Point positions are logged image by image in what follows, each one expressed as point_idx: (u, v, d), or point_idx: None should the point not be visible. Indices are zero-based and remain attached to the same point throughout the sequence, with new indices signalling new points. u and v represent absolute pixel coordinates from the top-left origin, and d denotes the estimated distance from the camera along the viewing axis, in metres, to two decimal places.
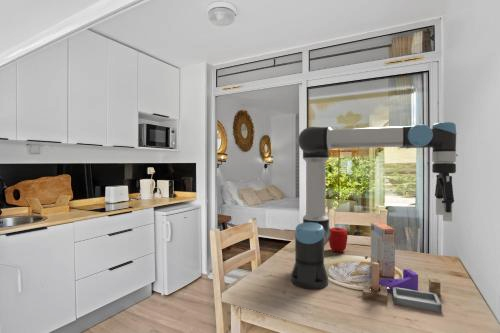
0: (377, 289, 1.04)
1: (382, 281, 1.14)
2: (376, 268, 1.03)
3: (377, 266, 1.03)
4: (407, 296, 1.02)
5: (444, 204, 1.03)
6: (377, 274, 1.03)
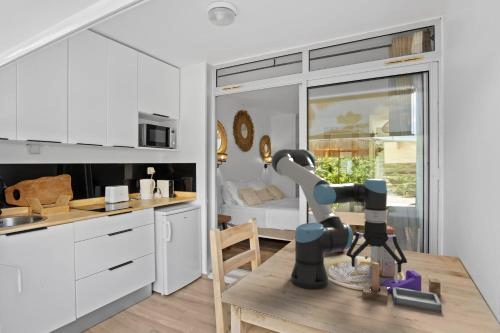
0: (377, 289, 1.04)
1: (385, 282, 1.12)
2: (376, 267, 1.03)
3: (377, 266, 1.03)
4: (407, 296, 1.02)
5: None
6: (377, 274, 1.03)
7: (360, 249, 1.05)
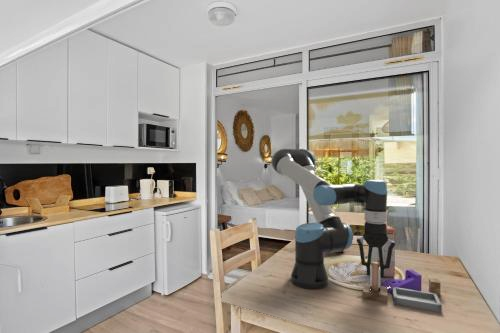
0: (377, 288, 1.04)
1: (385, 282, 1.12)
2: (376, 267, 1.03)
3: (377, 265, 1.03)
4: (407, 296, 1.02)
5: None
6: (377, 273, 1.03)
7: (369, 255, 1.04)
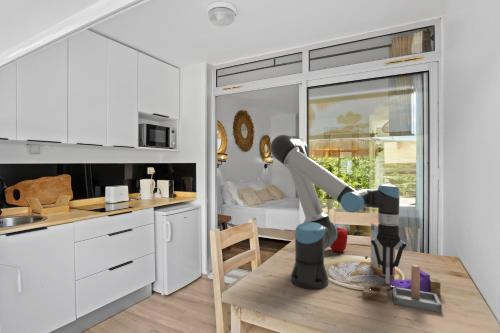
0: (418, 293, 0.99)
1: (393, 283, 1.12)
2: (417, 270, 0.98)
3: (418, 269, 0.98)
4: (407, 296, 1.02)
5: None
6: (418, 277, 0.99)
7: (384, 255, 1.12)
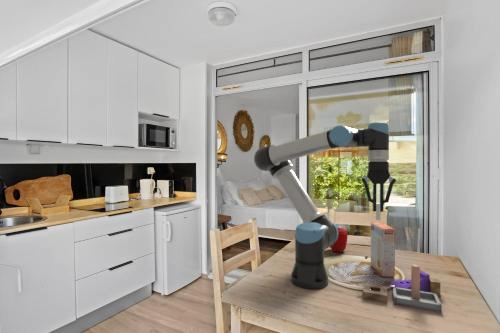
0: (418, 293, 0.99)
1: (393, 283, 1.11)
2: (417, 270, 0.98)
3: (418, 269, 0.99)
4: (407, 296, 1.02)
5: None
6: (418, 277, 0.99)
7: (374, 191, 1.13)
